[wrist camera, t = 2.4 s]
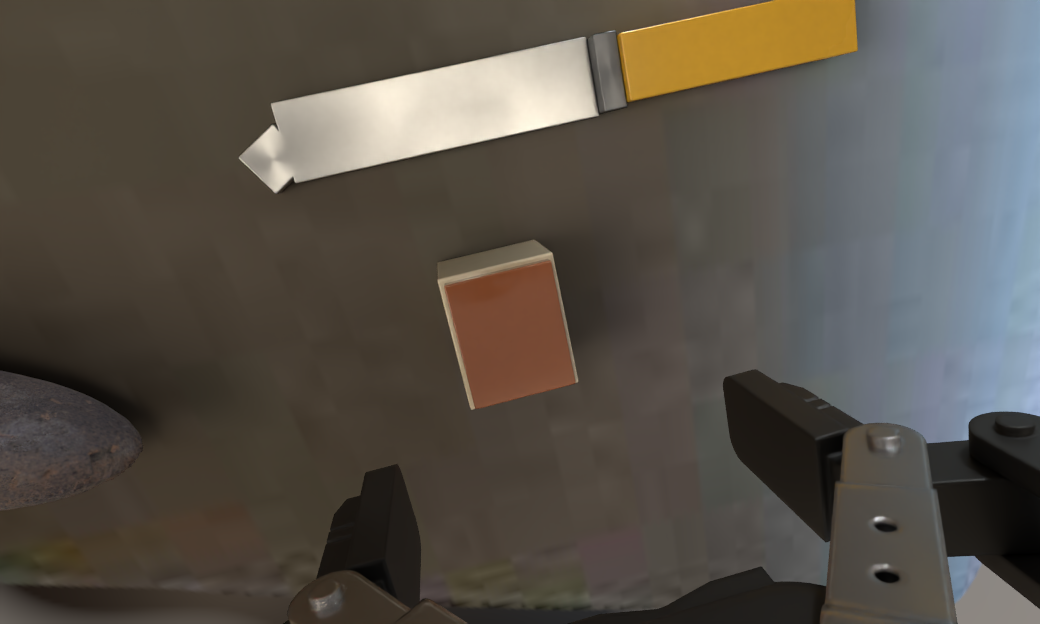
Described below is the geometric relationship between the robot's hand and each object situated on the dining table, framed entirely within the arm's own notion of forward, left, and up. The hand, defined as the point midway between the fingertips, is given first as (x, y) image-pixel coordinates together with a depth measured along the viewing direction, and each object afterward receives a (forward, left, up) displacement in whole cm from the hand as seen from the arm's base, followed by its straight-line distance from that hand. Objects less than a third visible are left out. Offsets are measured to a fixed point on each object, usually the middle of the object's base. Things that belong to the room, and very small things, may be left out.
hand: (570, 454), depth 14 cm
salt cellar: (0, 0, -14) cm, 14 cm away
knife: (-7, +7, -14) cm, 17 cm away
